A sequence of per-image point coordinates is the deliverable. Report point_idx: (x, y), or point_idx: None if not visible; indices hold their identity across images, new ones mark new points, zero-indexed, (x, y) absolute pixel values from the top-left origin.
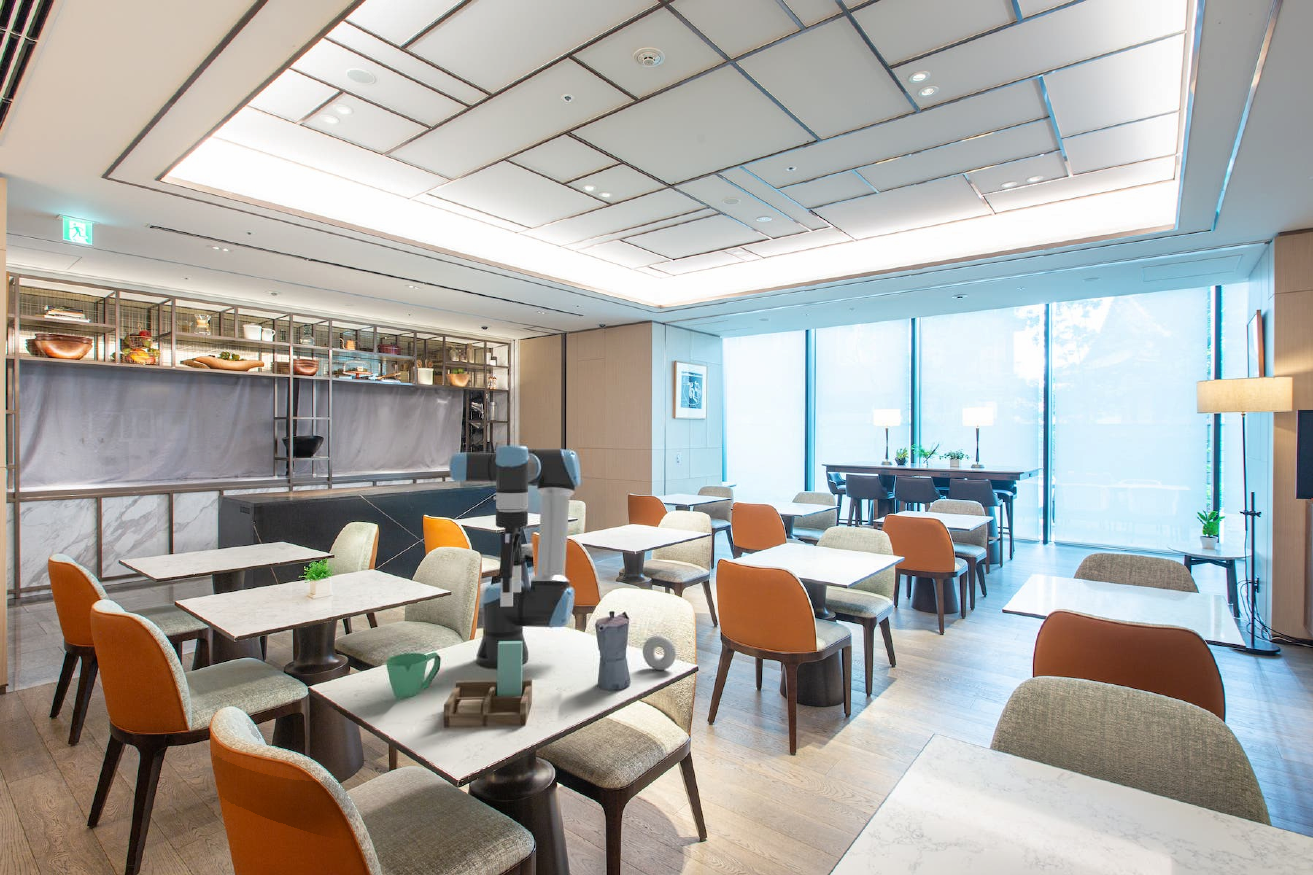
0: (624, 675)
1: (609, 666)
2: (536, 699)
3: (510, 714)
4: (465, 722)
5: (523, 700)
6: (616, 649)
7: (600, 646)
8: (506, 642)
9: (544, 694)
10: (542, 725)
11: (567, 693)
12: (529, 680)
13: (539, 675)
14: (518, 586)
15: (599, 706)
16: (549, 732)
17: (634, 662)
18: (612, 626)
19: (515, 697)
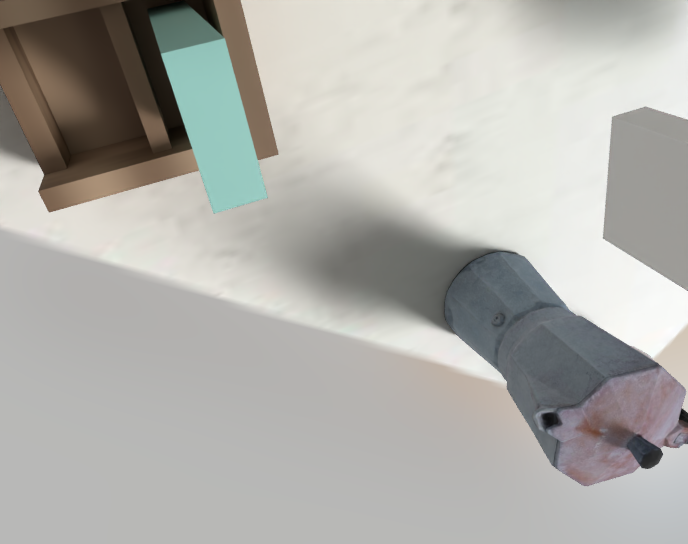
0: (478, 353)
1: (485, 337)
2: (352, 98)
3: (27, 135)
4: None
5: (74, 191)
6: (511, 396)
7: (538, 343)
8: (212, 104)
9: (399, 111)
10: (137, 207)
11: (413, 187)
12: (262, 148)
13: (576, 21)
14: (656, 244)
15: (323, 315)
16: (90, 250)
17: (648, 290)
18: (558, 454)
19: (143, 118)
